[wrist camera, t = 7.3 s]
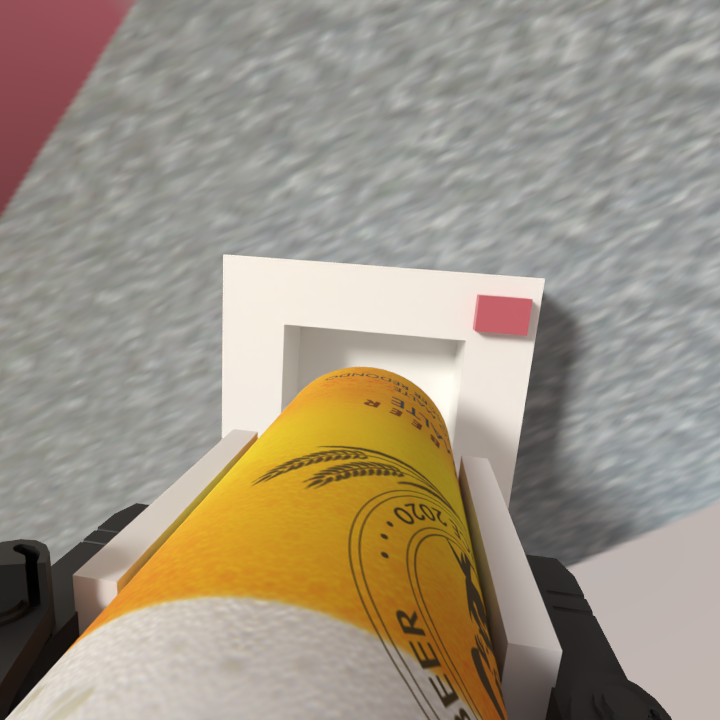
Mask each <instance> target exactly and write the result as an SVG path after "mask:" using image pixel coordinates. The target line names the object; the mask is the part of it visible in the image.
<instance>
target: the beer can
mask: <svg viewBox="0 0 720 720" xmlns="http://www.w3.org/2000/svg"><path fill="white" fill-rule="evenodd" d="M5 720H508V717H507V712H506V707H505V702H504V698H503V693H502V688H501V683H500V678H499V674H498V669H497V664H496V659H495V654H494V650H493V645H492V640H491V635H490V631H489V626H488V621H487V616H486V611H485V607H484V602H483V597H482V592H481V587H480V583H479V578H478V573H477V568H476V563H475V559H474V554H473V549H472V544H471V539H470V535H469V530H468V525H467V520H466V515H465V511H464V506H463V501H462V496H461V491H460V487H459V482H458V477H457V472H456V467H455V463H454V458H453V453H452V448H451V443H450V439H449V434H448V430H447V427H446V424H445V421H444V419H443V417H442V415H441V413H440V411H439V409H438V408H437V406H436V405H435V403H434V402H433V401H432V400H431V398H430V397H429V396H428V395H427V394H426V393H425V392H424V391H423V390H422V389H421V388H419V387H418V386H417V385H415V384H414V383H413V382H411V381H410V380H408V379H406V378H404V377H403V376H400V375H398V374H396V373H394V372H390V371H387V370H384V369H379V368H374V367H349V368H343V369H339V370H335V371H332V372H330V373H327V374H325V375H323V376H321V377H319V378H317V379H316V380H314V381H313V382H311V383H310V384H309V385H307V386H306V387H305V388H304V389H303V390H302V391H301V392H300V393H299V394H298V395H297V396H296V397H295V398H294V400H293V401H292V402H291V403H290V404H289V405H288V406H287V407H286V408H285V410H284V411H283V412H282V413H281V414H280V415H279V416H278V417H277V418H276V420H275V421H274V422H273V423H272V424H271V425H270V426H269V427H268V428H267V430H266V431H265V432H264V433H263V434H262V435H261V436H260V437H259V438H258V440H257V441H256V442H255V443H254V444H253V445H252V446H251V447H250V448H249V450H248V451H247V452H246V453H245V454H244V455H243V456H242V457H241V458H240V459H239V461H238V462H237V463H236V464H235V465H234V466H233V467H232V468H231V469H230V471H229V472H228V473H227V474H226V475H225V476H224V477H223V478H222V479H221V481H220V482H219V483H218V484H217V485H216V486H215V487H214V488H213V489H212V491H211V492H210V493H209V494H208V495H207V496H206V497H205V498H204V499H203V501H202V502H201V503H200V504H199V505H198V506H197V507H196V508H195V509H194V511H193V512H192V513H191V514H190V515H189V516H188V517H187V518H186V519H185V521H184V522H183V523H182V524H181V525H180V526H179V527H178V528H177V529H176V531H175V532H174V533H173V534H172V535H171V536H170V537H169V538H168V539H167V540H166V542H165V543H164V544H163V545H162V546H161V547H160V548H159V549H158V550H157V552H156V553H155V554H154V555H153V556H152V557H151V558H150V559H149V560H148V562H147V563H146V564H145V565H144V566H143V567H142V568H141V569H140V570H139V572H138V573H137V574H136V575H135V576H134V577H133V578H132V579H131V580H130V582H129V583H128V584H127V585H126V586H125V587H124V588H123V589H122V590H121V592H120V593H119V594H118V595H117V596H116V597H115V598H114V599H113V600H112V602H111V603H110V604H109V605H108V606H107V607H106V608H105V609H104V610H103V611H102V613H101V614H100V615H99V616H98V617H97V618H96V619H95V620H94V621H93V623H92V624H91V625H90V626H89V627H88V628H87V629H86V630H85V631H84V633H83V634H82V635H81V636H80V637H79V638H78V639H77V640H76V641H75V643H74V644H73V645H72V646H71V647H70V648H69V649H68V650H67V651H66V653H65V654H64V655H63V656H62V657H61V658H60V659H59V660H58V661H57V663H56V664H55V665H54V666H53V667H52V668H51V669H50V670H49V671H48V673H47V674H46V675H45V676H44V677H43V678H42V679H41V680H40V681H39V682H38V684H37V685H36V686H35V687H34V688H33V689H32V690H31V691H30V692H29V694H28V695H27V696H26V697H25V698H24V699H23V700H22V701H21V702H20V704H19V705H18V706H17V707H16V708H15V709H14V710H13V711H12V712H11V714H10V715H9V716H8V717H7V718H6V719H5Z"/></svg>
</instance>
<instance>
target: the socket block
mask: <svg viewBox="0 0 720 720" xmlns="http://www.w3.org/2000/svg"><path fill="white" fill-rule="evenodd" d="M544 282H545V279H542V278H530V277H518V276H505V275H491V274H478V273H465V272H452V271H438V270H425V269H412V268H398V267H385V266H372V265H359V264H345V263H332V262H319V261H305V260H292V259H279V258H266V257H252V256H238V255H223V364H222V439H223V438H225V437H226V436H227V435H228V434H229V433H230V432H231V431H232V430H233V429H236V430H245V431H254V432H258V438H259V437H260V436H261V435H262V434H263V433H264V432H265V431H266V430H267V428H268V427H269V426H270V425H271V424H272V423H273V422H274V421H275V420H276V418H277V417H278V416H279V415H280V414H281V413H282V412H283V411H284V410H285V408H286V407H287V406H288V405H289V404H290V403H291V402H292V401H293V400H294V398H295V397H296V396H297V395H298V394H299V393H300V392H301V391H302V390H303V389H304V388H305V387H306V386H307V385H309V384H310V383H311V382H313V381H314V380H316V379H317V378H319V377H321V376H323V375H325V374H327V373H330V372H332V371H335V370H339V369H343V368H349V367H374V368H379V369H384V370H387V371H390V372H394V373H396V374H398V375H400V376H403V377H404V378H406V379H408V380H410V381H411V382H413V383H414V384H415V385H417V386H418V387H419V388H421V389H422V390H423V391H424V392H425V393H426V394H427V395H428V396H429V397H430V398H431V400H432V401H433V402H434V403H435V405H436V406H437V408H438V409H439V411H440V413H441V415H442V417H443V419H444V421H445V424H446V427H447V430H448V434H449V439H450V443H451V448H452V453H453V458H454V463H455V467H456V472H457V477H459V469H460V462H461V456H469V457H478V458H487V459H488V460H489V463H490V465H491V468H492V470H493V473H494V475H495V478H496V481H497V483H498V486H499V488H500V491H501V494H502V496H503V499H504V501H505V504H506V507H507V509H508V508H509V501H510V495H511V489H512V482H513V476H514V470H515V464H516V457H517V451H518V445H519V439H520V432H521V426H522V420H523V413H524V407H525V401H526V395H527V388H528V382H529V376H530V369H531V363H532V357H533V351H534V344H535V338H536V332H537V325H538V319H539V313H540V307H541V300H542V294H543V288H544Z"/></svg>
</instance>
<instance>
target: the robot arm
mask: <svg viewBox="0 0 720 720" xmlns="http://www.w3.org/2000/svg"><path fill="white" fill-rule="evenodd" d="M257 440H258V432H254V431H245V430H236V429H233V430H232V431H231V432H230V433H229V434H228V435H227V436H226V437H225V438H223V439H222V440H221V441H220V442H219V443H218V444H217V445H216V446H215V447H213V448H212V449H211V450H210V451H209V452H208V453H207V454H206V455H205V456H204V457H202V458H201V459H200V460H199V461H198V462H197V463H196V464H195V465H194V466H193V467H191V468H190V469H189V470H188V471H187V472H186V473H185V474H184V475H183V476H181V477H180V478H179V479H178V480H177V481H176V482H175V483H174V484H173V485H172V486H170V487H169V488H168V489H167V490H166V491H165V492H164V493H163V494H162V495H160V496H159V497H158V498H157V499H156V500H155V501H154V502H153V503H152V504H151V505H145V504H137V503H136V504H134V505H132V506H130V507H128V508H126V509H124V510H122V511H120V512H118V513H115V514H114V515H113V516H111V517H110V518H109V519H108V520H107V521H105V522H104V523H103V524H102V525H101V526H99V527H98V530H97V531H93V532H92V533H91V534H90V535H89V536H87V537H86V538H85V539H84V541H83V542H80V543H79V544H78V545H76V546H75V547H74V548H73V549H72V550H70V551H69V552H68V553H67V554H66V555H64V556H63V557H62V558H61V559H60V560H58V561H57V562H56V563H55V564H54V565H52V566H51V563H50V552H49V550H48V548H47V546H46V545H45V544H43V543H41V542H39V541H36V540H23V539H20V540H13V541H6V542H1V543H0V720H5V719H6V718H7V717H8V716H9V715H10V714H11V712H12V711H13V710H14V709H15V708H16V707H17V706H18V705H19V704H20V702H21V701H22V700H23V699H24V698H25V697H26V696H27V695H28V694H29V692H30V691H31V690H32V689H33V688H34V687H35V686H36V685H37V684H38V682H39V681H40V680H41V679H42V678H43V677H44V676H45V675H46V674H47V673H48V671H49V670H50V669H51V668H52V667H53V666H54V665H55V664H56V663H57V661H58V660H59V659H60V658H61V657H62V656H63V655H64V654H65V653H66V651H67V650H68V649H69V648H70V647H71V646H72V645H73V644H74V643H75V641H76V640H77V639H78V638H79V637H80V636H81V635H82V634H83V633H84V631H85V630H86V629H87V628H88V627H89V626H90V625H91V624H92V623H93V621H94V620H95V619H96V618H97V617H98V616H99V615H100V614H101V613H102V611H103V610H104V609H105V608H106V607H107V606H108V605H109V604H110V603H111V602H112V600H113V599H114V598H115V597H116V596H117V595H118V594H119V593H120V592H121V590H122V589H123V588H124V587H125V586H126V585H127V584H128V583H129V582H130V580H131V579H132V578H133V577H134V576H135V575H136V574H137V573H138V572H139V570H140V569H141V568H142V567H143V566H144V565H145V564H146V563H147V562H148V560H149V559H150V558H151V557H152V556H153V555H154V554H155V553H156V552H157V550H158V549H159V548H160V547H161V546H162V545H163V544H164V543H165V542H166V540H167V539H168V538H169V537H170V536H171V535H172V534H173V533H174V532H175V531H176V529H177V528H178V527H179V526H180V525H181V524H182V523H183V522H184V521H185V519H186V518H187V517H188V516H189V515H190V514H191V513H192V512H193V511H194V509H195V508H196V507H197V506H198V505H199V504H200V503H201V502H202V501H203V499H204V498H205V497H206V496H207V495H208V494H209V493H210V492H211V491H212V489H213V488H214V487H215V486H216V485H217V484H218V483H219V482H220V481H221V479H222V478H223V477H224V476H225V475H226V474H227V473H228V472H229V471H230V469H231V468H232V467H233V466H234V465H235V464H236V463H237V462H238V461H239V459H240V458H241V457H242V456H243V455H244V454H245V453H246V452H247V451H248V450H249V448H250V447H251V446H252V445H253V444H254V443H255V442H256V441H257ZM458 482H459V487H460V491H461V496H462V501H463V506H464V511H465V515H466V520H467V525H468V530H469V535H470V539H471V544H472V549H473V554H474V559H475V563H476V568H477V573H478V578H479V583H480V587H481V592H482V597H483V602H484V607H485V611H486V616H487V621H488V626H489V631H490V635H491V640H492V645H493V650H494V654H495V659H496V664H497V669H498V674H499V678H500V683H501V688H502V693H503V698H504V702H505V707H506V712H507V717H508V720H672V719H671V717H670V716H669V715H668V713H667V712H666V711H665V710H664V709H663V708H662V706H661V705H660V704H659V703H658V701H657V700H656V699H655V698H653V697H652V696H651V695H650V694H648V693H647V692H646V691H644V690H643V689H642V688H641V687H639V686H638V685H637V684H635V683H633V682H631V681H629V680H628V679H627V677H626V676H625V673H624V671H623V670H622V668H621V666H620V664H619V662H618V660H617V658H616V656H615V654H614V652H613V650H612V648H611V646H610V645H609V642H608V641H607V639H606V637H605V635H604V633H603V631H602V629H601V627H600V625H599V623H598V621H597V619H596V617H595V616H593V614H592V610H591V608H590V606H589V604H588V602H587V600H586V599H584V594H583V592H582V590H581V588H580V587H579V585H578V583H577V581H576V579H575V577H574V576H573V575H572V574H571V573H570V572H569V571H568V570H567V569H566V568H565V567H564V566H563V565H562V564H561V563H560V562H559V561H558V560H557V559H554V558H546V557H539V556H532V555H525V553H524V551H523V548H522V545H521V543H520V540H519V538H518V535H517V532H516V530H515V527H514V525H513V522H512V520H511V517H510V514H509V512H508V509H507V507H506V504H505V501H504V499H503V496H502V494H501V491H500V488H499V486H498V483H497V481H496V478H495V475H494V473H493V470H492V468H491V465H490V463H489V460H488V459H487V458H478V457H469V456H461V462H460V469H459V477H458Z"/></svg>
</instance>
